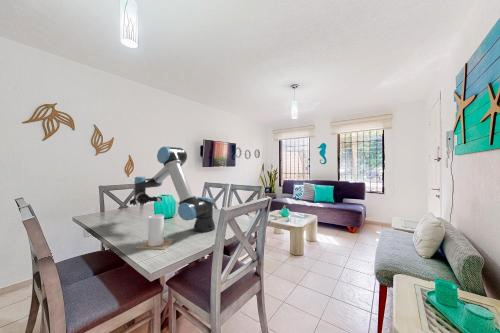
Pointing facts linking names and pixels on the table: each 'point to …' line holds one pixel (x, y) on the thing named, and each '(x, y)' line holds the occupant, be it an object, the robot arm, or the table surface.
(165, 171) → the robot arm
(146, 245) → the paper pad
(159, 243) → the cup
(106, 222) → the table surface
